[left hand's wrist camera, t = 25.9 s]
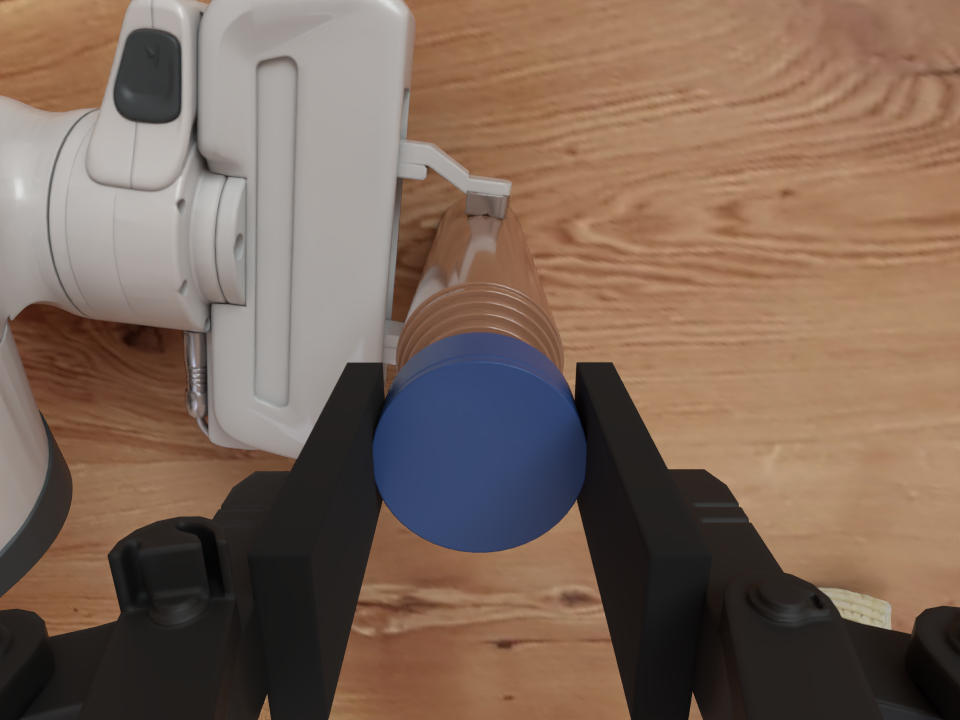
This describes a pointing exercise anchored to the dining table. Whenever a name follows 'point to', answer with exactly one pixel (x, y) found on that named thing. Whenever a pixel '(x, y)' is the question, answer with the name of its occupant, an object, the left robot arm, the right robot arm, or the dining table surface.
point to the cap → (479, 444)
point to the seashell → (860, 607)
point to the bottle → (479, 287)
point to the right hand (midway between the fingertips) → (499, 266)
